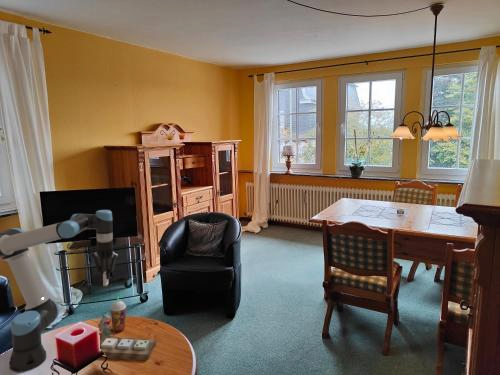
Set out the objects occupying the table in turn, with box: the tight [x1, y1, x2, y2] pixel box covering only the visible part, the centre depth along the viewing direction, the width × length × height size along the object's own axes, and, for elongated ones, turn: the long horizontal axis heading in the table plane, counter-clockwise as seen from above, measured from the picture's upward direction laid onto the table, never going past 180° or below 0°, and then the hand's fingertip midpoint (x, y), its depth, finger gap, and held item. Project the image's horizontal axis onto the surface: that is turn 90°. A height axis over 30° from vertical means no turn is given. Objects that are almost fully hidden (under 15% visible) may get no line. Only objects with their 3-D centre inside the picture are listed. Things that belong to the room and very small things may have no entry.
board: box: [99, 336, 157, 361], centre depth 176 cm, size 28×13×3 cm, turn 87°
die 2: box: [117, 339, 134, 350], centre depth 176 cm, size 6×6×4 cm
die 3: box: [134, 340, 149, 351], centre depth 175 cm, size 6×6×4 cm
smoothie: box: [110, 296, 127, 333], centre depth 194 cm, size 8×8×20 cm
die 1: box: [101, 338, 118, 349], centre depth 176 cm, size 6×6×4 cm
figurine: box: [97, 310, 115, 341], centre depth 186 cm, size 8×8×15 cm
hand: (105, 284), depth 175 cm, fingers closed
